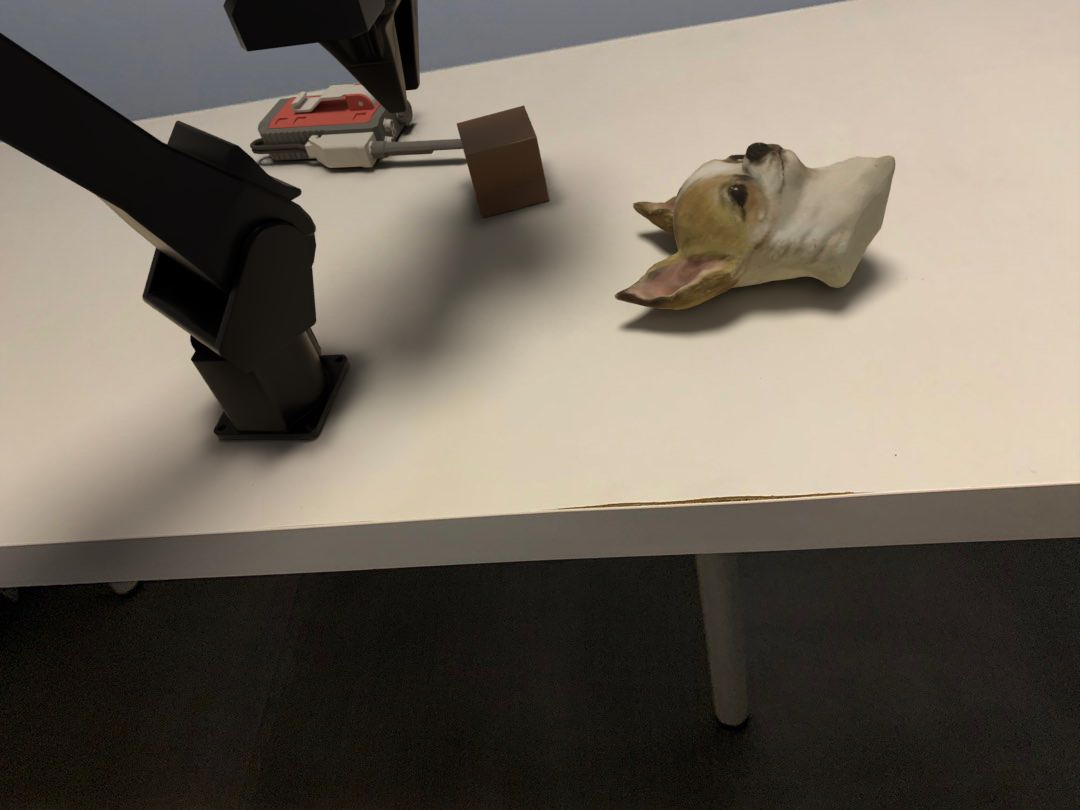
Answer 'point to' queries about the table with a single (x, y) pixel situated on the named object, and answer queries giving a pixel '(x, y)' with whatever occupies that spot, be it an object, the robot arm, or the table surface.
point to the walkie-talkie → (339, 129)
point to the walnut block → (503, 161)
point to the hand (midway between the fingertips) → (405, 100)
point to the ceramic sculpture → (763, 224)
